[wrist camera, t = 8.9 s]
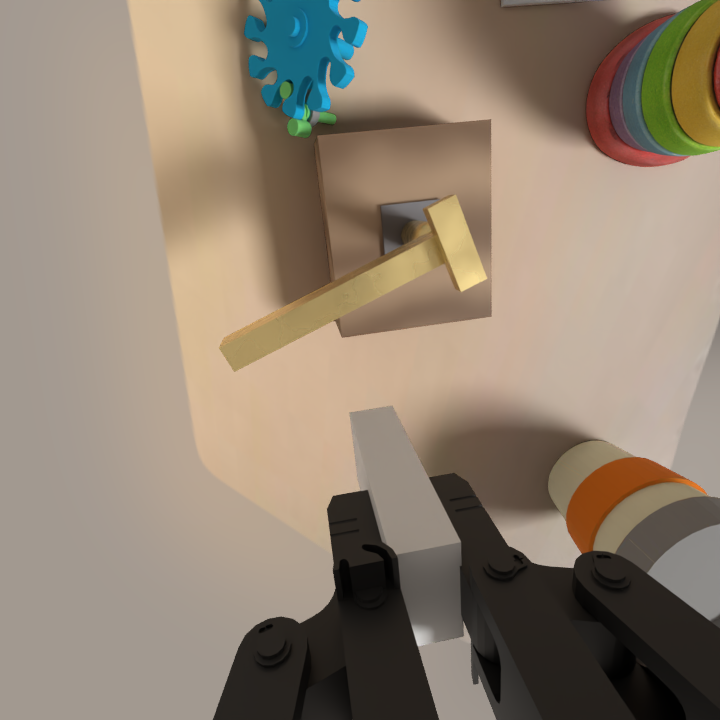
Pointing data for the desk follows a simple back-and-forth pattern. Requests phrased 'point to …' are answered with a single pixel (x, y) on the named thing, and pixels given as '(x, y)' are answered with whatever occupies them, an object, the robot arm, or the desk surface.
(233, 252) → the desk surface
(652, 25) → the stacking bear
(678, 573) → the reusable coffee cup
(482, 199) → the lock block
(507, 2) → the mat
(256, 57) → the gear
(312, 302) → the gold piece
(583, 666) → the robot arm
